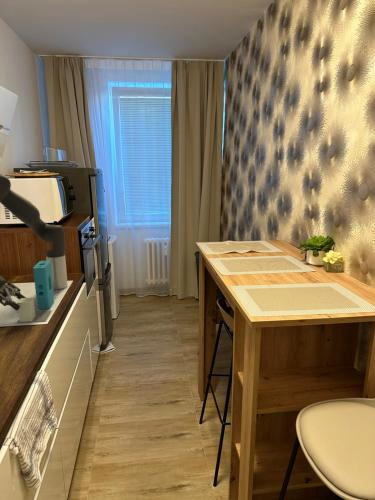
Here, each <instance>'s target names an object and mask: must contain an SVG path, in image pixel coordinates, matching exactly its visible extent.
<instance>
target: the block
mask: <svg viewBox="0 0 375 500" xmlns="http://www.w3.org/2000/svg"><path fill="white" fill-rule="evenodd" d="M32 270H33V280H34V288H35V297H36V303H37V307H38V311H45V310H51V308H52V307H53V305H54V303H55V302H54V301H55V299H54V294H55V291H54V289H53V279H52V269H51V261H47V260H40V261H38V263H36V264H35V265H34V266H33V267H32Z"/></svg>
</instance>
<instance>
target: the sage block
mask: <svg viewBox="0 0 375 500" xmlns="http://www.w3.org/2000/svg"><path fill="white" fill-rule="evenodd" d="M16 303H17V304H18V305H20V308H19V309H18V310H17V312H18V320H19V322H28V321H33V319H34V318H35V316H36V315H35V311H36V309H35V299H34V297H26V298H21V299H20V300H19V299H18V301H17V302H16ZM28 323H29V322H28Z"/></svg>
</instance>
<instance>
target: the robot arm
mask: <svg viewBox="0 0 375 500" xmlns="http://www.w3.org/2000/svg"><path fill="white" fill-rule="evenodd" d="M11 188H12V183H11V180H10V179H9V177H7V176H6V175H4V174H1V173H0V204H2V206H4V208H5V209H7V210H8V211H9V212H10V213H11V214H12V215H14V217H16V218H17V219H18V220H19V221H20V222H22V223H23V224H24V225H25V226H27V227H28V228H29V229H31V230H32V231H33V232H34V233H35V234H36V235H37V236H38V237H39V238H40V240H41V241H43V242H45V243H48V244H49V243H50V244H52V248H49V249H47V250H45V258H46V260H45V261H51V269H52V279H53V290H62V289H65V288H67V287H68V276H67V264H66V263H67V262H66V253H65V252H66V248H67V246H66V231H65V228H64V227H63V226H62V225H60V224H59V225H57V224H49V223H46V221H44V220H42V218H41V213H40V211H39V209H38V208H37V206H36V205H34V204H33V203H32V202H31V201H30V200H29V199H27V198H25V197H24V196H22V195H21V194H19V193H17V192H16V191H14V190H13V189H11ZM5 282H6V279H5V278H4V277H3V276H2V275H0V304H1V305H2V306H4V307H6V306H10V307H11V308H12V309H14V310H15V311H16V312H18V309H19V308H20V305H18V304H17V302H16V301H14V300H13V299H12V297H16V299H17V300H18V301H19V300H20V299H21V298H27V297H26V296H24V295H23V294H22V292H21V289H20V288H19V287H18V286H17V285H15V284H14V283H12V282H11V281H8V282H6V283H5Z"/></svg>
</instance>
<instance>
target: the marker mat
mask: <svg viewBox="0 0 375 500" xmlns="http://www.w3.org/2000/svg"><path fill="white" fill-rule="evenodd" d="M52 312H53V310H51V309H48V310H37V311H36V310H35V315H36V316H35V318H34V319H33V321H28V322H19V319H18V320H17V322H16V324H24V323H42V322H47V320H48V318H49V317H50V315H51V314H52Z"/></svg>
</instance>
